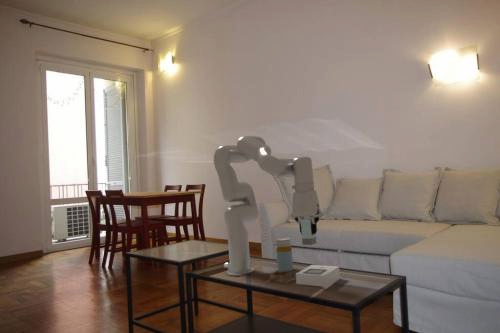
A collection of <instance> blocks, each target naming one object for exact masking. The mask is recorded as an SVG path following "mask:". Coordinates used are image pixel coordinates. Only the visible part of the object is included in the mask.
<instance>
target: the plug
mask: <svg viewBox="0 0 500 333" xmlns="http://www.w3.org/2000/svg"><path fill="white" fill-rule="evenodd" d="M311 224H312V221H311V217H304V219H301V230H302V234H301V243H302V246H305V245H307V246H312V245H316V244H317V237H316V234H312V231H311Z"/></svg>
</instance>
